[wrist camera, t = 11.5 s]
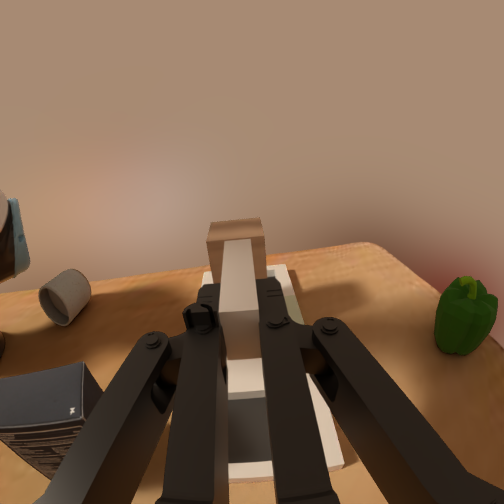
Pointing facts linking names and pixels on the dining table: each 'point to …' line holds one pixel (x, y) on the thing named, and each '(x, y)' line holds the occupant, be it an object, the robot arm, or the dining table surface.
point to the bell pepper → (464, 316)
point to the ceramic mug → (65, 296)
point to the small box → (46, 413)
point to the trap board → (254, 407)
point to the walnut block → (236, 231)
